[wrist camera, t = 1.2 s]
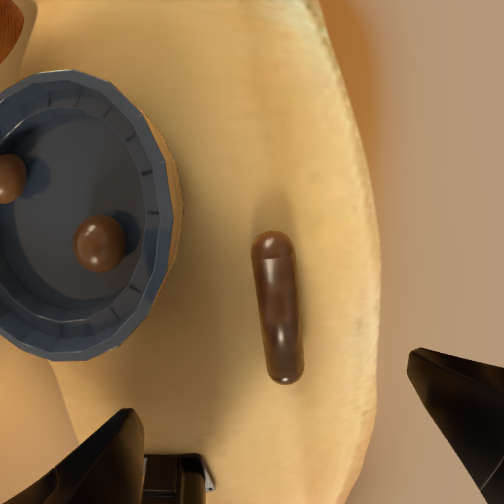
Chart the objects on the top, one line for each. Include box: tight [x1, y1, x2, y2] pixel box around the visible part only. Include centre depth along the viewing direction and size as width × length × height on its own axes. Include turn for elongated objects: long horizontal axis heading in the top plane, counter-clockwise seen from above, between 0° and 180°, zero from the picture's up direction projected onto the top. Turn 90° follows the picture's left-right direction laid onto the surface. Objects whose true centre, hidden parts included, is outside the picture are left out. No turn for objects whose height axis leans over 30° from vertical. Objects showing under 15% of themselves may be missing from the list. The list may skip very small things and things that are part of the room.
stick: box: [251, 231, 304, 385], centre depth 17 cm, size 10×2×2 cm, turn 8°
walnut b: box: [73, 215, 127, 273], centre depth 14 cm, size 3×3×3 cm
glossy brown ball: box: [0, 154, 27, 204], centre depth 12 cm, size 3×3×3 cm
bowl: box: [0, 69, 184, 361], centre depth 13 cm, size 15×15×4 cm
